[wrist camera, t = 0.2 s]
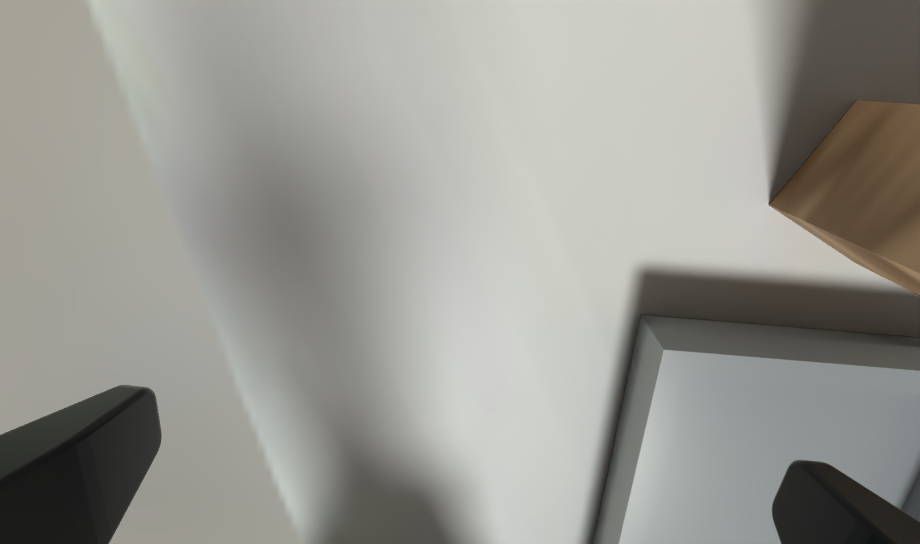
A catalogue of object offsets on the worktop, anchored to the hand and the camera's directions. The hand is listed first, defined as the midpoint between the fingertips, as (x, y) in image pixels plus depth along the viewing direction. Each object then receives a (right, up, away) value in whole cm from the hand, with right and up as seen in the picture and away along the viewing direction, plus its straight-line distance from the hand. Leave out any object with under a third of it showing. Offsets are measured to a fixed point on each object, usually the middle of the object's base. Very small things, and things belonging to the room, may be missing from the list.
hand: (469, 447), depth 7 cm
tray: (+14, -7, +17) cm, 23 cm away
